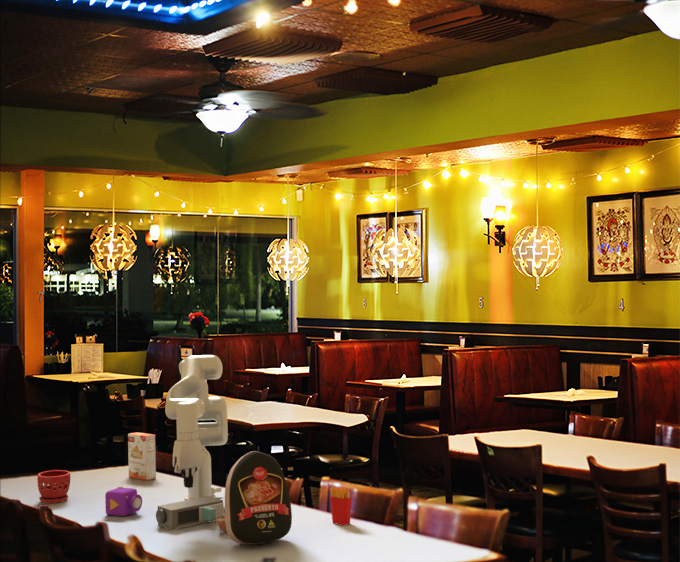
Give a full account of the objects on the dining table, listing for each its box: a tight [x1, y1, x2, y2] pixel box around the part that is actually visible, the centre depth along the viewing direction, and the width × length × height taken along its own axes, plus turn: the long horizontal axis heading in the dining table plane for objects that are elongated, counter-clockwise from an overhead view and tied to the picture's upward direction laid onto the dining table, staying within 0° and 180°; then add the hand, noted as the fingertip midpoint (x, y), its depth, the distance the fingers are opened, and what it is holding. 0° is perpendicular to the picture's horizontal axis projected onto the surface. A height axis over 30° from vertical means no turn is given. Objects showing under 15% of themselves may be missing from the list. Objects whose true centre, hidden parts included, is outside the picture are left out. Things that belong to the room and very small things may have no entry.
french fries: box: [329, 486, 352, 526], centre depth 311 cm, size 9×4×13 cm, turn 47°
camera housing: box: [155, 496, 224, 531], centre depth 317 cm, size 24×11×7 cm, turn 132°
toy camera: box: [104, 485, 143, 517], centre depth 333 cm, size 11×14×10 cm
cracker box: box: [127, 431, 157, 481], centre depth 405 cm, size 14×6×21 cm, turn 49°
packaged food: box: [224, 450, 293, 545], centre depth 288 cm, size 22×20×30 cm
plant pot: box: [37, 469, 71, 504], centre depth 358 cm, size 13×13×12 cm
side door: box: [199, 502, 225, 522], centre depth 315 cm, size 10×6×5 cm, turn 132°
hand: (188, 487), depth 308 cm, fingers closed
